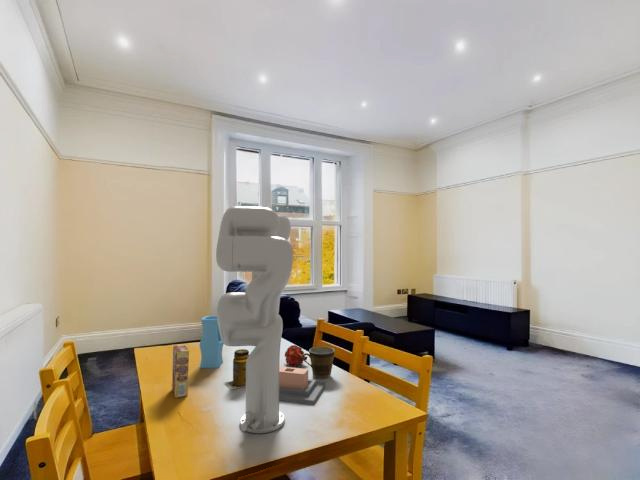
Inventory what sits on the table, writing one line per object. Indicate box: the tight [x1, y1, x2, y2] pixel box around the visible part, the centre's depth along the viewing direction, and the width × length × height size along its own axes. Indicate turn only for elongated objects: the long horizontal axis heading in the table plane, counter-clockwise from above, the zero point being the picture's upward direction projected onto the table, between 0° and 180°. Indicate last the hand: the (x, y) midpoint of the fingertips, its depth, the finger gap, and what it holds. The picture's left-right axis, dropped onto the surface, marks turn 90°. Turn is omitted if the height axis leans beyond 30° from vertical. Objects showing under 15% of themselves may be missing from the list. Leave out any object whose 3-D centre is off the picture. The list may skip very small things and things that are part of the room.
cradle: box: [279, 378, 327, 405], centre depth 124 cm, size 16×22×4 cm
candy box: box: [171, 344, 190, 399], centre depth 122 cm, size 9×4×15 cm, turn 29°
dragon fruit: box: [284, 344, 308, 368], centre depth 151 cm, size 8×8×12 cm
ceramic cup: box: [302, 346, 335, 380], centre depth 138 cm, size 13×10×10 cm
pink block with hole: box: [279, 365, 309, 390], centre depth 123 cm, size 12×5×6 cm, turn 76°
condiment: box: [224, 348, 250, 391], centre depth 130 cm, size 7×8×12 cm
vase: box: [199, 315, 225, 369], centre depth 151 cm, size 8×8×20 cm
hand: (263, 304), depth 124 cm, fingers open, 9 cm apart
